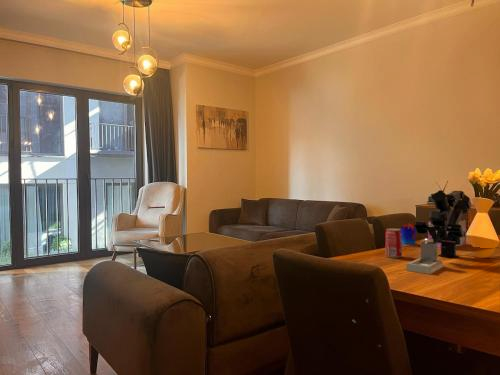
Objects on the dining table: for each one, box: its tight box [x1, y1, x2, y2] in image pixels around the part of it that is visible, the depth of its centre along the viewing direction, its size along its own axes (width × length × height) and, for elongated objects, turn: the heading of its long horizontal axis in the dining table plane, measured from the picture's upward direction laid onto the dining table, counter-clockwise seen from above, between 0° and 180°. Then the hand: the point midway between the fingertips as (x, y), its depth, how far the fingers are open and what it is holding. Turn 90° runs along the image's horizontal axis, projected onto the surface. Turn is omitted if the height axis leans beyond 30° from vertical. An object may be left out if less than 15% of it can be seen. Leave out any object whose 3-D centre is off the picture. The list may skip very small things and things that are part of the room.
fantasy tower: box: [400, 223, 421, 248], centre depth 212 cm, size 12×12×12 cm
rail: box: [405, 257, 445, 275], centre depth 159 cm, size 17×9×3 cm, turn 137°
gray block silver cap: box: [420, 237, 438, 264], centre depth 161 cm, size 5×5×10 cm
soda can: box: [385, 228, 403, 259], centre depth 181 cm, size 7×7×13 cm
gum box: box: [427, 219, 467, 250], centre depth 210 cm, size 24×8×14 cm, turn 120°
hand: (433, 244), depth 166 cm, fingers closed
